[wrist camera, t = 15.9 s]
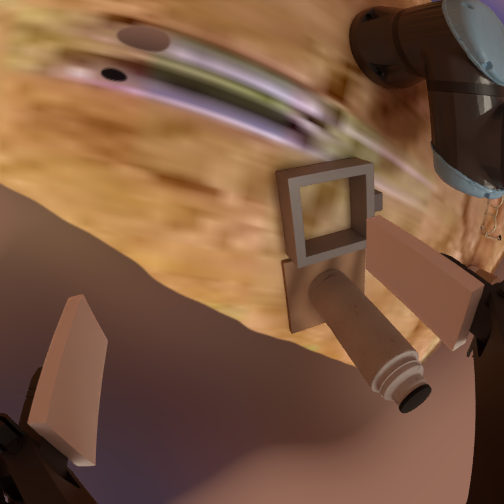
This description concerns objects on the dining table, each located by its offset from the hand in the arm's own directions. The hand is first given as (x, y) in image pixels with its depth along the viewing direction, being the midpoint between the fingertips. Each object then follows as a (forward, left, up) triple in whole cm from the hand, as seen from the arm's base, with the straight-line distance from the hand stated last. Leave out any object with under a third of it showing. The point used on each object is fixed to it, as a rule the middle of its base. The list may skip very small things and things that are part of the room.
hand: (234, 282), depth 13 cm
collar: (-20, +11, -32) cm, 39 cm away
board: (-19, +27, -32) cm, 46 cm away
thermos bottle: (-19, +27, -31) cm, 45 cm away
